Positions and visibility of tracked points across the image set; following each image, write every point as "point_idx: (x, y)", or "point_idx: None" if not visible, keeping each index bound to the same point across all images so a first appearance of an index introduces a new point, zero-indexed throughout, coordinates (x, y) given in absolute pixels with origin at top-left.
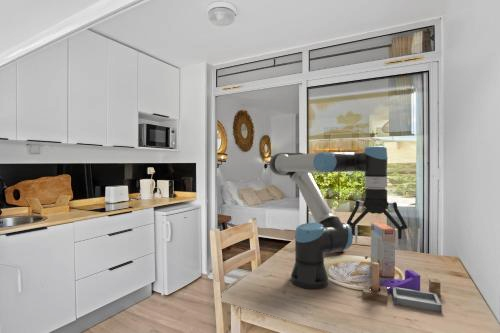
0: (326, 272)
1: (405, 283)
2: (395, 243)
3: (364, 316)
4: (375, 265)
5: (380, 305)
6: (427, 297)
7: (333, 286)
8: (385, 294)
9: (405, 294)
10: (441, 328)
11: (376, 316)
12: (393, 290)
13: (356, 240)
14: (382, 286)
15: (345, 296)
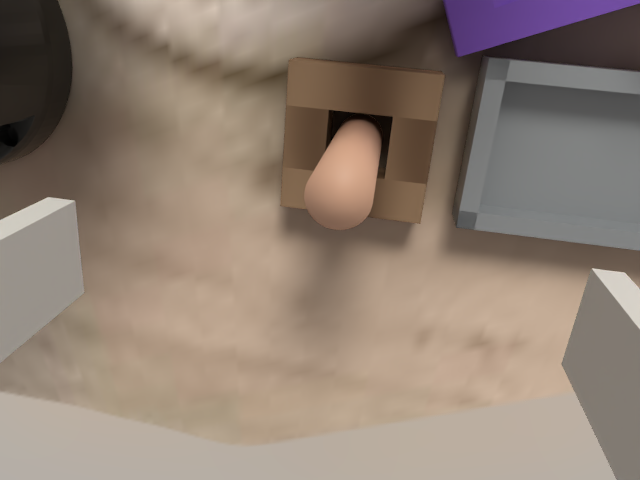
0: (7, 38)
1: (606, 12)
2: (593, 367)
3: (289, 363)
4: (337, 227)
5: (374, 248)
6: None
7: (110, 74)
8: (410, 208)
9: (561, 91)
10: None
11: (340, 353)
12: (478, 126)
13: (43, 320)
14: (414, 83)
15: (195, 194)
